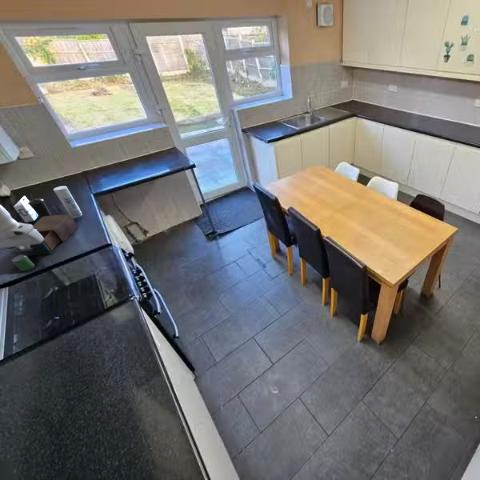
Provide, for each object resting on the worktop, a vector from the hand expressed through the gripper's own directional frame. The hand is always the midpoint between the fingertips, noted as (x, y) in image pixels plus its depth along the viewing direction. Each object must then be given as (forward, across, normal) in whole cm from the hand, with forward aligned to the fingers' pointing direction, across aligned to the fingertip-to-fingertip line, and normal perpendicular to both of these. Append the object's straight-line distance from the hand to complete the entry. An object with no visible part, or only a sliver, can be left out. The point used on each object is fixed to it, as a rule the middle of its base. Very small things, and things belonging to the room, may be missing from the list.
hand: (28, 250), depth 144 cm
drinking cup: (+6, -16, +41) cm, 45 cm away
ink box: (+6, -28, +45) cm, 53 cm away
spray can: (+6, 0, +43) cm, 44 cm away
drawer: (+5, 0, +8) cm, 9 cm away
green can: (+6, +2, -9) cm, 11 cm away
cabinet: (+6, 0, +21) cm, 22 cm away
